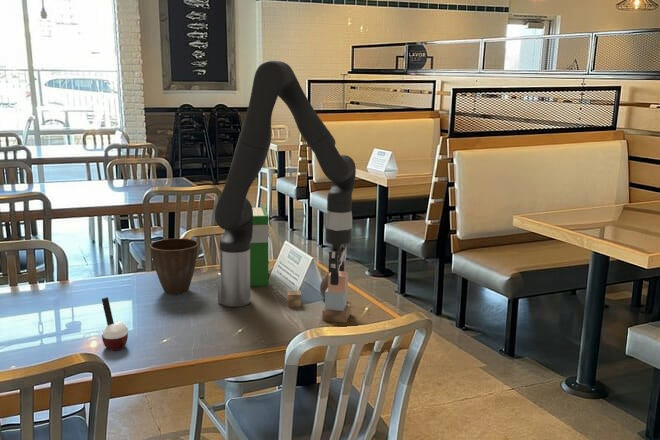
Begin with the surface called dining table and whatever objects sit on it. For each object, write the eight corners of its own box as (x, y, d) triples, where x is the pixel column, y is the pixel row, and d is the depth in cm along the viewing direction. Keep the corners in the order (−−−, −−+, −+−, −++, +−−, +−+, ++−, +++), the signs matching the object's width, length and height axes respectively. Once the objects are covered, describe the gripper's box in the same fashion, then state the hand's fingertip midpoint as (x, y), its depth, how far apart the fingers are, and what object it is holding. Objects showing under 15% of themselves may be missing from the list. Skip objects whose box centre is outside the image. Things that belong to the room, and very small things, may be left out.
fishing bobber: (129, 353, 158) (129, 309, 155) (103, 356, 156) (102, 311, 153) (126, 337, 167) (125, 295, 164) (101, 340, 164) (100, 297, 161)
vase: (339, 303, 195) (339, 276, 194) (317, 301, 197) (318, 275, 195) (343, 296, 202) (343, 270, 200) (322, 294, 203) (322, 268, 201)
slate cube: (324, 309, 182) (325, 291, 181) (328, 302, 187) (329, 285, 186) (343, 311, 181) (343, 293, 179) (346, 304, 186) (347, 287, 185)
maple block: (287, 307, 192) (287, 294, 191) (286, 302, 195) (286, 290, 195) (300, 306, 192) (300, 294, 191) (299, 302, 196) (299, 290, 195)
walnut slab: (322, 321, 182) (322, 310, 181) (327, 312, 189) (327, 301, 188) (346, 323, 181) (346, 312, 180) (350, 315, 187) (350, 304, 186)
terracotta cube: (327, 291, 180) (328, 275, 179) (330, 286, 185) (331, 270, 184) (344, 293, 179) (345, 276, 178) (347, 287, 184) (348, 271, 183)
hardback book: (243, 270, 227) (242, 205, 221) (263, 269, 228) (263, 205, 223) (246, 286, 210) (245, 216, 204) (268, 285, 211) (268, 216, 206)
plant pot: (142, 294, 199) (140, 246, 195) (171, 281, 212) (169, 236, 209) (181, 302, 193) (179, 252, 190) (208, 288, 207) (207, 241, 203)
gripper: (331, 219, 185) (329, 271, 189) (320, 230, 172) (319, 286, 175) (356, 221, 184) (354, 274, 188) (347, 232, 170) (345, 289, 174)
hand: (337, 280), depth 182 cm, fingers open, 8 cm apart
